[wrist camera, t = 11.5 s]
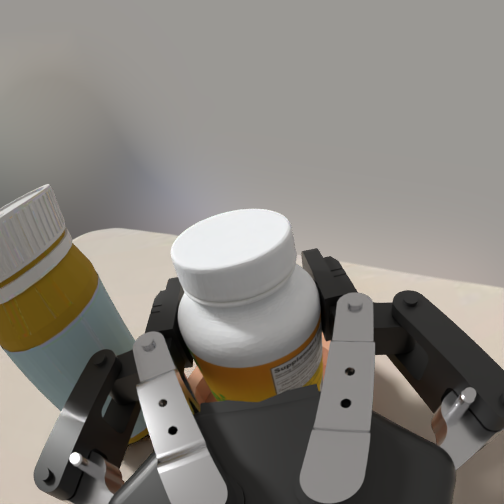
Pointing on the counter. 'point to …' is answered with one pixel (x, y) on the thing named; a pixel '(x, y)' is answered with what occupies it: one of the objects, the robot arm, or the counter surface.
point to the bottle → (53, 301)
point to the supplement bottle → (248, 306)
